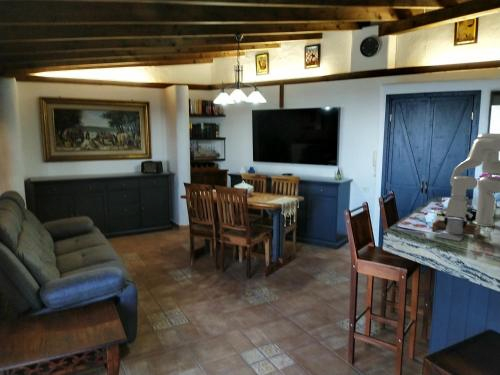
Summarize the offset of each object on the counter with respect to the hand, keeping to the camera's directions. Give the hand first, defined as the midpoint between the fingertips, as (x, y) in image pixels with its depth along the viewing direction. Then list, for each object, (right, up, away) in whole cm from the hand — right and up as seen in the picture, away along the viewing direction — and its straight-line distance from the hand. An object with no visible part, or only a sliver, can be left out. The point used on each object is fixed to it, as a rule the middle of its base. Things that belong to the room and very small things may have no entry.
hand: (454, 226), depth 226 cm
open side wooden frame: (+1, -4, +2) cm, 5 cm away
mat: (-7, -6, -7) cm, 11 cm away
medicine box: (0, -5, +1) cm, 5 cm away
